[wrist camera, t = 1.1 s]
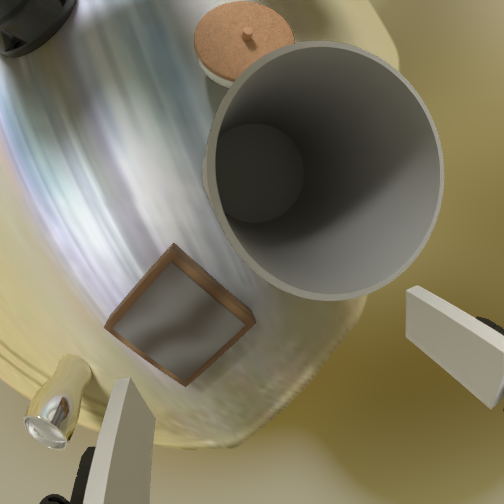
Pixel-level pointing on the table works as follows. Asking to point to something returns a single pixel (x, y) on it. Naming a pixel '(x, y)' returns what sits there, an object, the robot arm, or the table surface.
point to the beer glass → (58, 404)
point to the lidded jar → (238, 39)
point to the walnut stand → (179, 317)
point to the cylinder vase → (324, 170)
